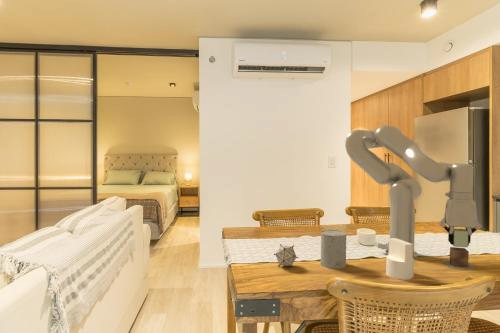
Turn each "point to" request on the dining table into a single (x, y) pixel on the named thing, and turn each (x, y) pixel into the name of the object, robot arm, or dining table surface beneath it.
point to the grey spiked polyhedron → (285, 255)
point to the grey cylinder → (333, 249)
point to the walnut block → (459, 257)
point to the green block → (460, 238)
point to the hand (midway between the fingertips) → (459, 243)
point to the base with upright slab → (400, 260)
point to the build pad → (458, 267)
